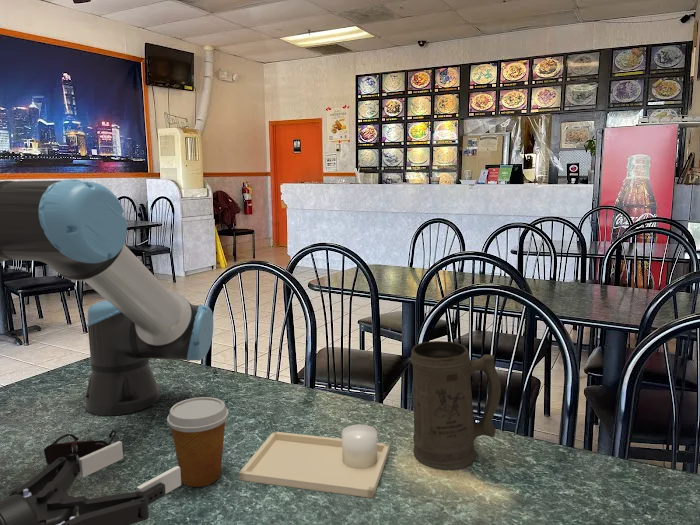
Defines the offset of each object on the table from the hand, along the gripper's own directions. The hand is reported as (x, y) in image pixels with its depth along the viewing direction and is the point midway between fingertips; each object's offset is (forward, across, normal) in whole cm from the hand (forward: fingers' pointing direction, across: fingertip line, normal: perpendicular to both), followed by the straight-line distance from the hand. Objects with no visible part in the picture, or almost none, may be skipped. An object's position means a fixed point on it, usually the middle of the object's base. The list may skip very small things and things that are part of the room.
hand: (149, 461), depth 81 cm
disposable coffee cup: (+10, 0, -7) cm, 12 cm away
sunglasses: (+4, -24, -8) cm, 25 cm away
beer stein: (+38, +32, -7) cm, 50 cm away
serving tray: (+22, +14, -7) cm, 28 cm away
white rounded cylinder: (+28, +20, -6) cm, 34 cm away
